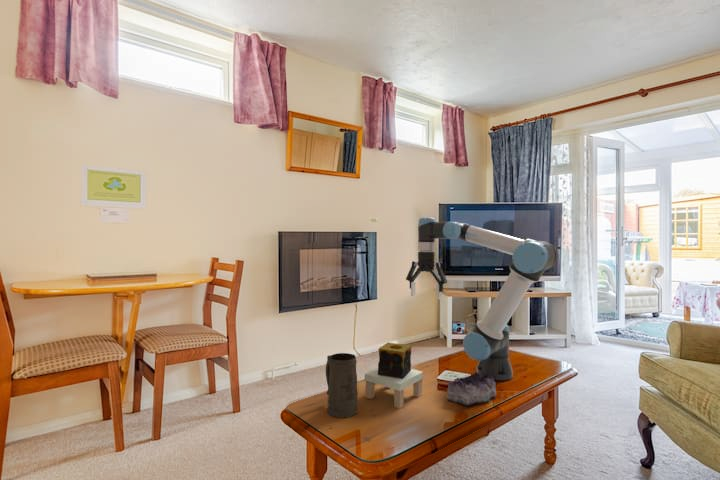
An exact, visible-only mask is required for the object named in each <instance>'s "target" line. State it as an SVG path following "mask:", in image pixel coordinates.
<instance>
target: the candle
mask: <svg viewBox="0 0 720 480" xmlns="http://www.w3.org/2000/svg"><path fill="white" fill-rule="evenodd" d="M378 356H379V357H378V359H379V360H378V364H377V365H378V366H377V368H378V375H383V376H389V377H396V378H402V379H403V378H404V377H405V376H406V375H407V374H408V373H409V372H410V371H411V369H412V363H411V362H412V361H411V360H412V359H411V358H412V345H409V344H402V343H394V342H386V343H385V344H384V345H382V346H380V347H379V348H378Z"/></svg>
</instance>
